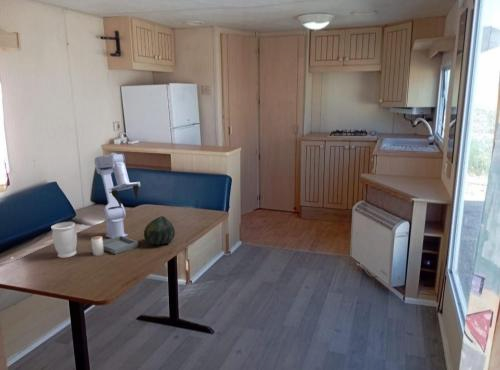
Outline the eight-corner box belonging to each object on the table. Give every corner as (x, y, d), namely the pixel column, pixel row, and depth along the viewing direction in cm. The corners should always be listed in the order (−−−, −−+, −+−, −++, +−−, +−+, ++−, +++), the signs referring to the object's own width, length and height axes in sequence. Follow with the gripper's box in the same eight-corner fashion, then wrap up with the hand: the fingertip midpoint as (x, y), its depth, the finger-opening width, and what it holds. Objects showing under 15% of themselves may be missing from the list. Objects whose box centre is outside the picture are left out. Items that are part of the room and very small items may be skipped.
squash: (138, 231, 206) (144, 214, 196) (164, 225, 215) (172, 209, 205) (147, 254, 199) (154, 238, 189) (174, 248, 208) (182, 232, 198)
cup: (91, 253, 191) (89, 237, 190) (100, 250, 195) (98, 234, 193) (96, 256, 188) (94, 240, 186) (106, 253, 192) (104, 237, 190)
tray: (98, 247, 199) (98, 242, 199) (121, 240, 209) (121, 235, 208) (115, 254, 190) (114, 249, 189) (138, 246, 199) (137, 241, 199)
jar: (83, 251, 194) (80, 222, 191) (68, 260, 185) (63, 229, 181) (66, 249, 198) (62, 220, 194) (50, 257, 188) (45, 227, 185)
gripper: (105, 177, 183) (112, 204, 180) (137, 170, 189) (144, 197, 185) (106, 183, 190) (113, 209, 186) (137, 176, 195) (144, 201, 191)
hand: (128, 203), depth 186 cm, fingers open, 7 cm apart
